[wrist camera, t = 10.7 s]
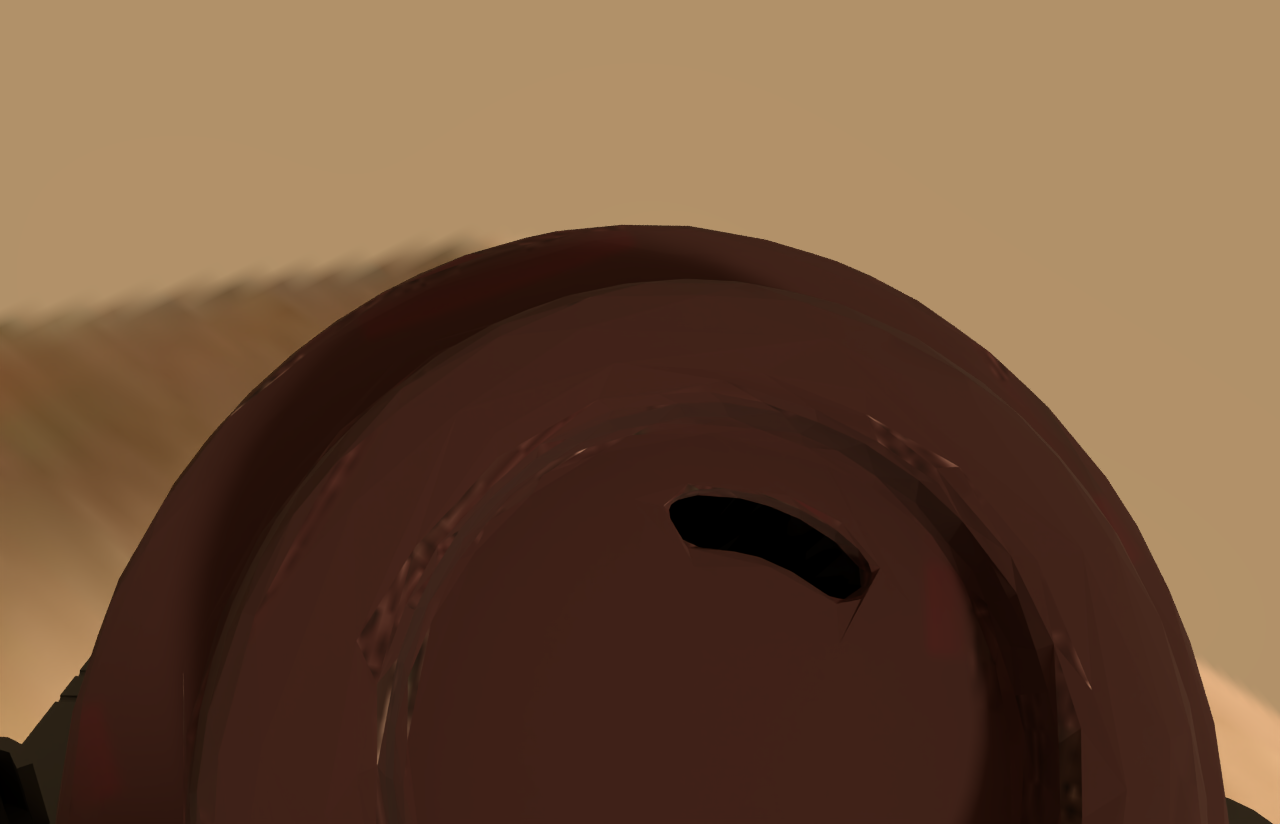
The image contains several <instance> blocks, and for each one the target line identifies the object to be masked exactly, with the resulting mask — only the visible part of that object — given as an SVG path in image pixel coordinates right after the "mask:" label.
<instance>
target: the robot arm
mask: <svg viewBox="0 0 1280 824" xmlns="http://www.w3.org/2000/svg"><path fill="white" fill-rule="evenodd" d="M90 658H91V657H90ZM90 658H89V659H88V661H87V662H86V663H85V664H84V666H83V667H82V668H81V670H80V674H79V676H75V677H74V678H73V680H72V681H71V682H70V684H69V685H68V686H67V687H66V689H65V690H64V691H63V692H62V694H61V695H60V700H59V702H55V703H54V704H53V705H52V707H51V708H50V709H49V710H48V712H47V713H46V714H45V715H44V717H43V718H42V719H41V721H40V722H39V723H38V724H37V726H36V727H35V728H34V730H33V731H32V732H31V733H30V735H29V736H28V737H27V738H26V740H25V741H24V742H23V744H20V743H18V742H16V741H14V740H12V739H10V738H8V737H0V824H55V820H56V811H57V803H58V797H59V791H60V785H61V778H62V772H63V766H64V760H65V754H66V748H67V742H68V736H69V730H70V723H71V717H72V711H73V708H74V705H75V702H76V699H77V696H78V693H79V690H80V687H81V684H82V681H83V678H84V675H85V672H86V670H87V667H88V664H89V661H90ZM1225 799H1226V805H1227V812H1228V819H1229V824H1273V823H1271V822H1270V821H1268V820H1267V819H1265V818H1264V817H1263V816H1261V815H1260V814H1258V813H1257V812H1255V811H1254V810H1252V809H1250V808H1248V807H1246V806H1244V805H1242V804H1240V803H1238V802H1235V801H1233V800H1231V799H1229V798H1226V797H1225Z"/></svg>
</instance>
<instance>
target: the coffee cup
mask: <svg viewBox="0 0 1280 824" xmlns="http://www.w3.org/2000/svg"><path fill="white" fill-rule="evenodd" d="M55 824H1229V819H1228V812H1227V805H1226V799H1225V792H1224V785H1223V779H1222V772H1221V765H1220V759H1219V752H1218V745H1217V739H1216V732H1215V725H1214V721H1213V717H1212V714H1211V711H1210V707H1209V704H1208V700H1207V697H1206V694H1205V690H1204V687H1203V684H1202V680H1201V677H1200V674H1199V670H1198V667H1197V663H1196V660H1195V657H1194V653H1193V650H1192V647H1191V643H1190V640H1189V638H1188V636H1187V633H1186V631H1185V628H1184V626H1183V623H1182V621H1181V618H1180V616H1179V614H1178V611H1177V609H1176V606H1175V604H1174V601H1173V599H1172V596H1171V594H1170V591H1169V589H1168V587H1167V585H1166V583H1165V581H1164V579H1163V577H1162V575H1161V573H1160V571H1159V569H1158V567H1157V565H1156V563H1155V561H1154V559H1153V557H1152V555H1151V553H1150V551H1149V549H1148V547H1147V545H1146V542H1145V541H1144V538H1143V537H1142V534H1141V533H1140V530H1139V529H1138V526H1137V525H1136V523H1135V522H1134V520H1133V519H1132V517H1131V515H1130V514H1129V512H1128V511H1127V509H1126V508H1125V506H1124V504H1123V503H1122V501H1121V500H1120V498H1119V497H1118V495H1117V493H1116V492H1115V490H1114V489H1113V487H1112V486H1111V484H1110V482H1109V481H1108V479H1107V478H1106V476H1105V475H1104V474H1103V473H1102V472H1101V470H1100V469H1099V468H1098V467H1097V466H1096V464H1095V463H1094V462H1093V461H1092V460H1091V458H1090V457H1089V456H1088V455H1087V453H1085V451H1084V450H1083V449H1082V448H1081V446H1080V445H1079V444H1078V443H1077V442H1076V440H1075V439H1074V438H1073V437H1072V435H1071V434H1070V433H1069V432H1068V431H1067V429H1066V428H1065V427H1064V426H1063V425H1062V424H1061V422H1060V421H1059V420H1058V418H1057V417H1056V416H1055V415H1054V414H1053V412H1052V411H1051V410H1050V409H1049V408H1048V407H1047V406H1046V405H1045V404H1044V403H1043V402H1042V401H1041V400H1040V399H1039V398H1038V397H1037V396H1036V395H1035V394H1034V393H1033V392H1032V391H1031V390H1030V389H1029V388H1027V387H1026V385H1024V384H1023V383H1022V382H1021V381H1020V380H1019V379H1018V378H1017V377H1016V376H1015V375H1014V374H1013V373H1012V372H1010V371H1009V370H1008V369H1007V368H1006V367H1005V366H1004V365H1003V364H1002V363H1001V362H1000V361H999V360H998V359H996V358H995V357H994V356H993V355H992V354H991V353H990V352H988V351H987V350H986V349H985V348H983V347H982V346H981V345H979V344H978V343H976V342H975V341H974V340H972V339H971V338H969V337H968V336H967V335H965V334H964V333H963V332H961V331H960V330H959V329H957V328H956V327H955V326H953V325H952V324H950V323H949V322H947V321H946V320H945V319H943V318H942V317H940V316H939V315H937V314H936V313H934V312H933V311H932V310H930V309H929V308H927V307H926V306H924V305H923V304H922V303H920V302H919V301H917V300H915V299H913V298H911V297H909V296H908V295H905V294H904V293H902V292H900V291H898V290H896V289H894V288H893V287H891V286H889V285H887V284H885V283H883V282H881V281H879V280H877V279H876V278H874V277H872V276H870V275H867V274H865V273H862V272H860V271H858V270H856V269H853V268H851V267H848V266H846V265H844V264H842V263H839V262H837V261H834V260H831V259H828V258H825V257H821V256H819V255H815V254H812V253H809V252H805V251H802V250H799V249H795V248H792V247H789V246H785V245H782V244H778V243H775V242H772V241H768V240H764V239H759V238H753V237H747V236H742V235H736V234H731V233H725V232H720V231H714V230H708V229H703V228H697V227H692V226H657V225H653V226H652V225H617V226H606V227H595V228H585V229H575V230H564V231H556V232H551V233H546V234H542V235H537V236H532V237H528V238H524V239H520V240H517V241H513V242H510V243H506V244H503V245H499V246H496V247H492V248H489V249H485V250H482V251H478V252H475V253H471V254H468V255H465V256H462V257H460V258H457V259H455V260H453V261H450V262H448V263H445V264H443V265H440V266H438V267H436V268H433V269H431V270H428V271H426V272H424V273H421V274H419V275H417V276H415V277H413V278H411V279H409V280H407V281H405V282H403V283H401V284H399V285H397V286H395V287H393V288H391V289H389V290H387V291H385V292H383V293H381V294H380V295H378V296H376V297H375V298H373V299H371V300H370V301H368V302H367V303H365V304H363V305H362V306H360V307H359V308H357V309H355V310H354V311H352V312H350V313H349V314H347V315H346V316H344V317H342V318H341V319H339V320H338V321H336V322H335V323H333V324H332V325H331V326H329V327H328V328H327V329H325V330H324V331H323V332H321V333H320V334H318V335H317V336H316V337H314V338H313V339H312V340H310V341H309V342H308V343H307V344H305V345H304V346H303V347H301V348H300V349H299V350H297V351H296V352H295V353H293V354H292V355H291V356H290V357H289V358H288V359H287V360H286V361H284V362H283V363H282V364H281V365H280V366H279V367H278V368H277V369H276V370H274V371H273V372H272V373H271V374H270V375H269V376H268V377H267V378H266V379H265V380H263V381H262V382H261V383H260V384H259V385H258V386H257V387H256V388H255V389H253V390H252V391H251V392H250V393H249V394H248V396H247V397H246V398H245V399H244V400H243V401H242V402H241V403H240V404H239V405H238V406H237V408H236V409H235V410H234V411H233V412H232V413H231V414H230V415H229V416H228V417H227V418H226V420H225V421H224V422H223V423H222V424H221V425H220V426H219V427H218V428H217V429H216V430H215V432H214V433H213V434H212V435H211V436H210V437H209V438H208V440H207V441H206V442H205V444H204V445H203V446H202V447H201V449H200V450H199V451H198V453H197V454H196V455H195V457H194V458H193V459H192V461H191V462H190V463H189V465H188V466H187V467H186V469H185V470H184V471H183V473H182V474H181V475H180V476H179V478H178V479H177V480H176V482H175V483H174V485H173V486H172V488H171V490H170V492H169V493H168V495H167V497H166V499H165V500H164V502H163V504H162V505H161V507H160V509H159V511H158V512H157V514H156V516H155V518H154V519H153V521H152V523H151V524H150V526H149V528H148V530H147V531H146V533H145V535H144V537H143V538H142V540H141V542H140V544H139V545H138V547H137V549H136V550H135V552H134V554H133V556H132V557H131V559H130V561H129V563H128V564H127V566H126V568H125V570H124V571H123V573H122V575H121V576H120V578H119V580H118V583H117V586H116V588H115V591H114V594H113V596H112V599H111V602H110V605H109V607H108V610H107V613H106V615H105V618H104V621H103V623H102V626H101V629H100V631H99V634H98V637H97V640H96V643H95V646H94V649H93V652H92V655H91V658H90V661H89V664H88V667H87V670H86V672H85V675H84V678H83V681H82V684H81V687H80V690H79V693H78V696H77V699H76V702H75V705H74V708H73V711H72V717H71V723H70V730H69V736H68V742H67V748H66V754H65V760H64V766H63V772H62V778H61V785H60V791H59V797H58V803H57V811H56V820H55Z"/></svg>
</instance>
